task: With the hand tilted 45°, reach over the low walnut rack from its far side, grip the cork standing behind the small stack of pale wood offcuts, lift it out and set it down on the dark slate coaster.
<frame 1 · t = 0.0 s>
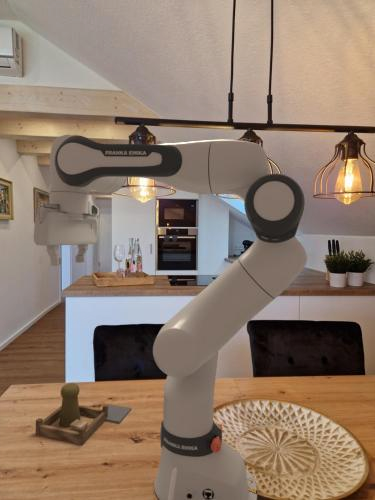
hand: (68, 263, 79), 48 cm above the table, tool pointing down, fingers open, 8 cm apart
walnut rack: (73, 425, 94), on the table
slate coaster: (113, 414, 100), on the table
cork: (69, 422, 96), resting in walnut rack
offcut stack: (78, 435, 89), resting in walnut rack
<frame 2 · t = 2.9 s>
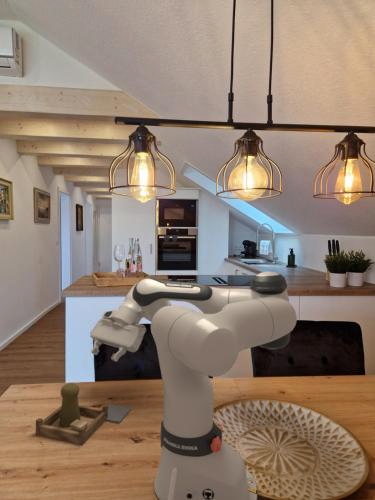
hand: (103, 356, 105), 16 cm above the table, tool tilted 45°, fingers open, 8 cm apart
nothing on the table moved.
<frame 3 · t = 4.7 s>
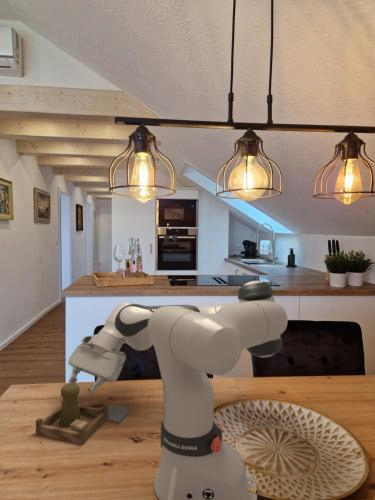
hand: (80, 387, 99), 9 cm above the table, tool tilted 45°, fingers open, 8 cm apart
nothing on the table moved.
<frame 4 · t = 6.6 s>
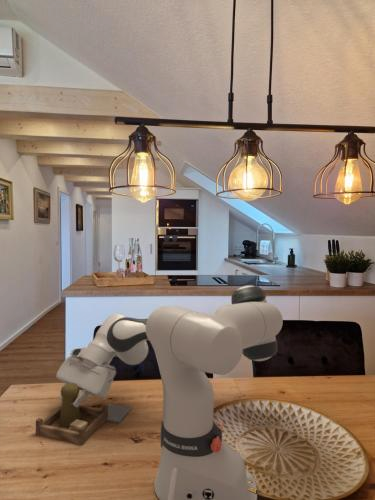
hand: (68, 403, 95), 6 cm above the table, tool tilted 45°, fingers closed on cork, 4 cm apart
cork: (69, 422, 96), resting in walnut rack, touching gripper
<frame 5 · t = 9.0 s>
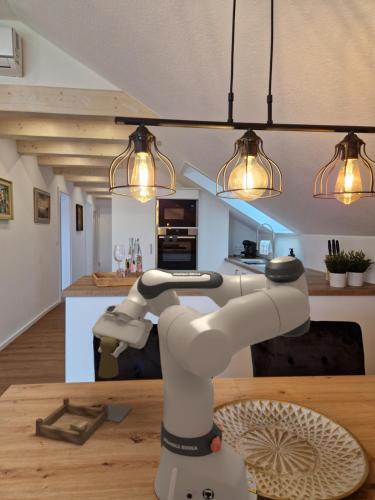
hand: (107, 354, 98), 19 cm above the table, tool tilted 45°, fingers closed on cork, 4 cm apart
cork: (108, 374, 99), point 13 cm above the table, touching gripper
when the fingers open (8 cm above the table, at t = 11.8 s): cork stays where it is, resting on slate coaster.
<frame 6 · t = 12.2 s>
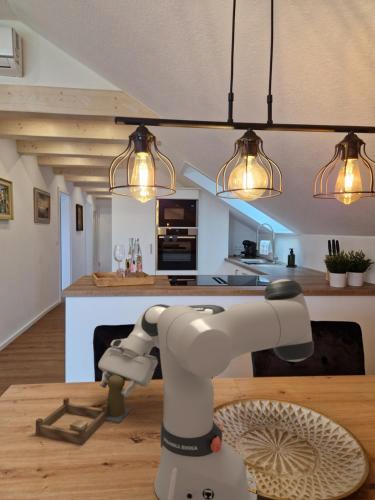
hand: (112, 391, 100), 8 cm above the table, tool tilted 45°, fingers open, 8 cm apart
cork: (115, 412, 101), resting on slate coaster
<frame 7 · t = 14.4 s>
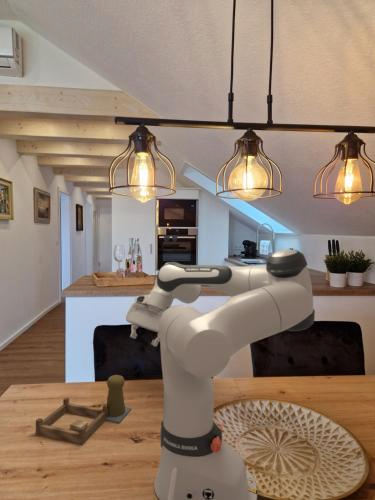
hand: (142, 341, 113), 18 cm above the table, tool tilted 30°, fingers open, 8 cm apart
nothing on the table moved.
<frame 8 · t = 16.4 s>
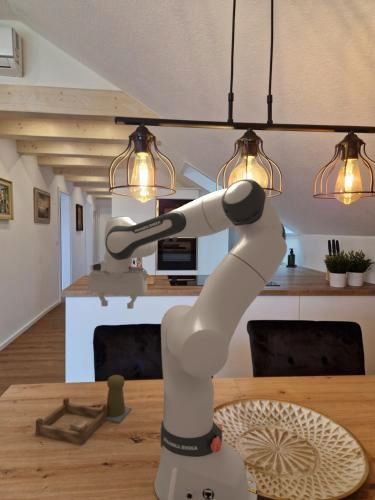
hand: (117, 307, 109), 31 cm above the table, tool pointing down, fingers open, 8 cm apart
nothing on the table moved.
at the end: cork 0.6 cm from the slate coaster (horizontally); cork tilted 0°; the gripper is holding nothing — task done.
